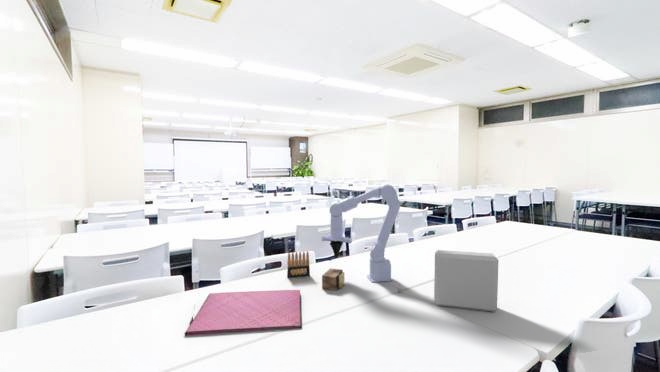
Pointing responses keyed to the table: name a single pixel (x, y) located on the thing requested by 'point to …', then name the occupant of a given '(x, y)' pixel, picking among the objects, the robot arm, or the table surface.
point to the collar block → (331, 279)
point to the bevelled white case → (466, 280)
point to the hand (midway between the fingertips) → (336, 256)
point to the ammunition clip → (298, 266)
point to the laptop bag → (247, 312)
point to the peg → (341, 279)
